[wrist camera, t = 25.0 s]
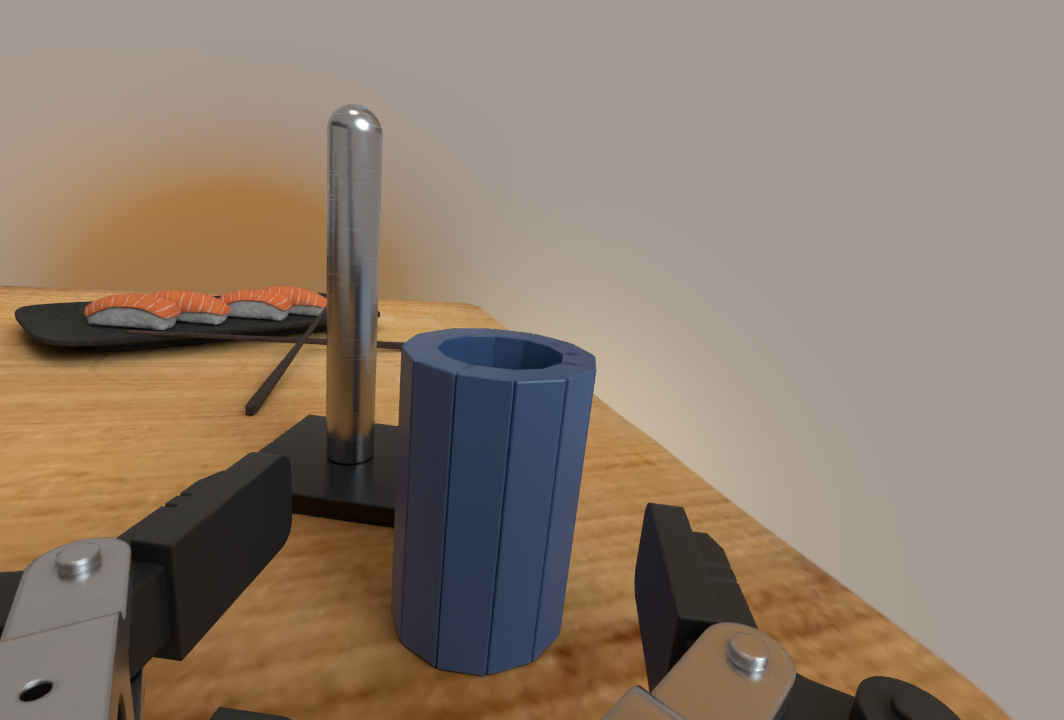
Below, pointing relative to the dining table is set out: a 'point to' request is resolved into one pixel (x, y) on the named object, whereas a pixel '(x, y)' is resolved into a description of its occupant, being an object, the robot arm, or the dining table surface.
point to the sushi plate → (185, 322)
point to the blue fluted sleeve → (486, 493)
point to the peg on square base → (348, 345)
